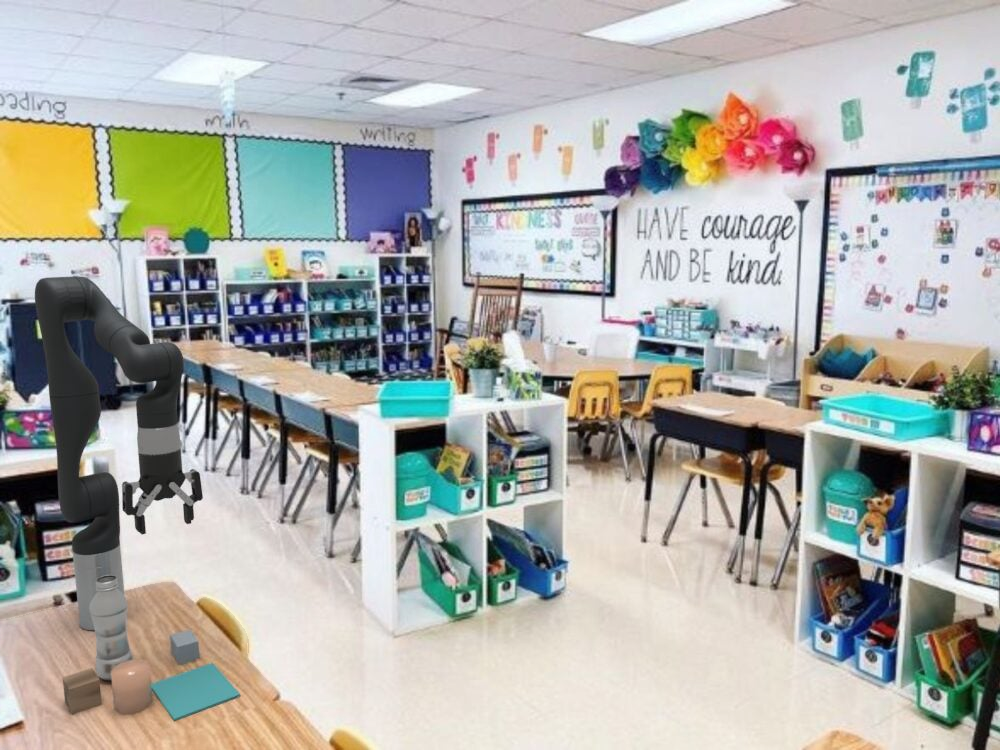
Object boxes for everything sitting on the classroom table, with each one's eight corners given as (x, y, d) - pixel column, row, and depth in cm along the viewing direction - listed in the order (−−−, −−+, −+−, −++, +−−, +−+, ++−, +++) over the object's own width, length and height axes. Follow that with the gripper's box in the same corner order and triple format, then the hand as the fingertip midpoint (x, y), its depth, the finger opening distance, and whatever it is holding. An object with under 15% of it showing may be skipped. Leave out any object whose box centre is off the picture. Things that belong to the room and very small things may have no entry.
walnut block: (65, 702, 147) (62, 677, 146) (94, 692, 150) (92, 668, 149) (71, 715, 143) (68, 689, 142) (101, 704, 146) (99, 679, 145)
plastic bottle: (119, 686, 152) (111, 587, 148) (88, 682, 153) (78, 584, 149) (141, 668, 158) (133, 573, 154) (110, 664, 159) (102, 570, 156)
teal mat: (149, 686, 152) (149, 684, 152) (212, 664, 160) (212, 662, 159) (174, 720, 141) (174, 718, 141) (240, 696, 149) (240, 694, 149)
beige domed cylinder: (109, 702, 147) (106, 667, 146) (146, 689, 151) (143, 655, 150) (119, 718, 142) (116, 682, 141) (157, 705, 146) (154, 670, 145)
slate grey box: (171, 652, 164) (169, 634, 164) (191, 646, 167) (190, 629, 166) (178, 665, 159) (177, 647, 159) (199, 659, 162) (198, 641, 161)
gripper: (190, 437, 160) (195, 514, 163) (114, 449, 151) (120, 530, 154) (203, 445, 155) (208, 525, 158) (125, 458, 146) (131, 542, 149)
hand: (165, 527), depth 156 cm, fingers open, 8 cm apart
